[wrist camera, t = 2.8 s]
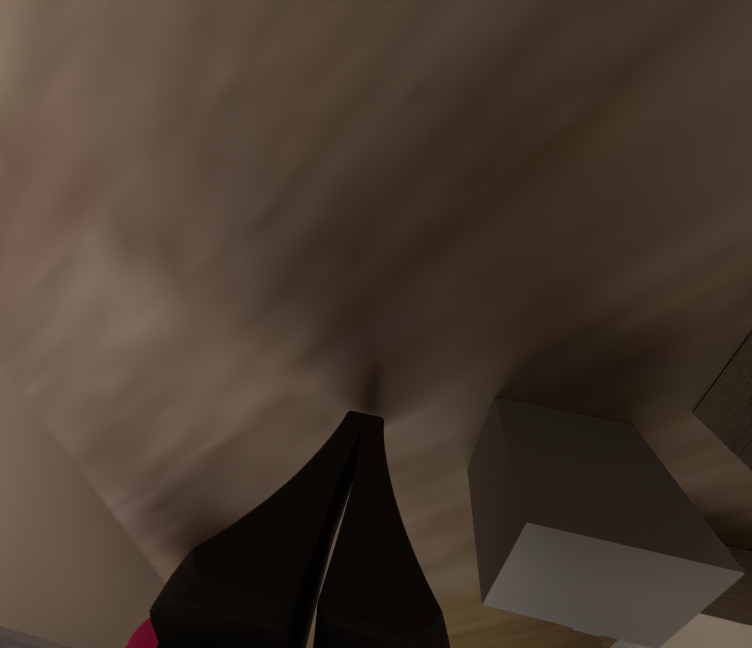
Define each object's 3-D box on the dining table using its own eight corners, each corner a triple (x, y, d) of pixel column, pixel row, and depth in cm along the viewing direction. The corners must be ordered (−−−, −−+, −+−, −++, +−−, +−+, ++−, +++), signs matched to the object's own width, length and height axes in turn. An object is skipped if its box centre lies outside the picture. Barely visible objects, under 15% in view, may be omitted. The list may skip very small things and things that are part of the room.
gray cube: (588, 495, 14) (661, 650, 10) (467, 468, 14) (481, 604, 10) (634, 424, 12) (750, 574, 8) (494, 395, 13) (527, 522, 8)
